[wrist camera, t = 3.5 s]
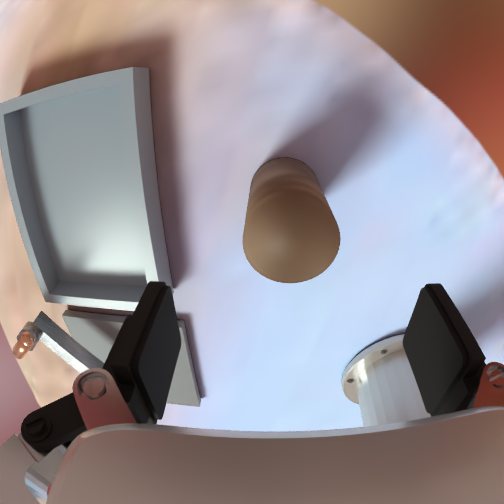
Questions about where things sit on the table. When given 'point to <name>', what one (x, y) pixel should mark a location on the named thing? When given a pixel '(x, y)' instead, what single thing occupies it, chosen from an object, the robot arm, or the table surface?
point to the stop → (289, 223)
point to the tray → (87, 188)
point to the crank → (54, 343)
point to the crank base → (102, 339)
